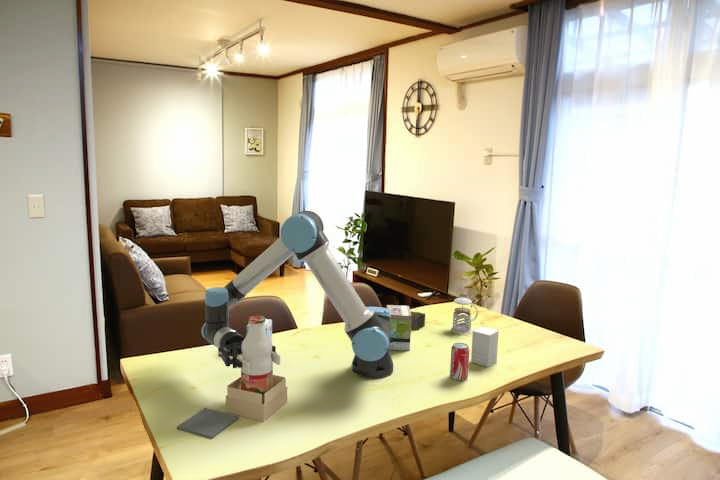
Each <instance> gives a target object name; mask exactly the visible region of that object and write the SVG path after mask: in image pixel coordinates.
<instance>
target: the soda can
mask: <svg viewBox="0 0 720 480" xmlns="http://www.w3.org/2000/svg"><path fill="white" fill-rule="evenodd" d="M450 351H451V352H450V364H449V365H450V366H449V376H450V377H451V378H452V379H453V378H454V379H453V380H455V379H456V381H466V380H467V379H468V378H469V366H470V365H469V364H470V362H469V361H470V351H471V350H470V347H469V345H468V343H464V342H455V343H453V344H452V345H451V350H450Z"/></svg>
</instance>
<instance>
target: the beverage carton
mask: <svg viewBox="0 0 720 480" xmlns="http://www.w3.org/2000/svg"><path fill="white" fill-rule="evenodd" d="M410 312H411V316H412V321H411V330H412V329H413V330H417V331H418V330H420V329H422V328H424V327H425V325H426V313H423V312H419V311H411V310H410Z"/></svg>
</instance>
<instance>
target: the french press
mask: <svg viewBox="0 0 720 480" xmlns="http://www.w3.org/2000/svg"><path fill="white" fill-rule="evenodd" d="M461 280H463V282H465V281H466V280H467V277H466V276H463V277H462V278H461ZM462 293H463V294H462V296H461V297H456V298H455V299H454V300H453V302H454V304H458V305H462V307H456V308H454V309H453V310H454V311H453V316H452V318H453V319H452V327H451V328H450V329H451V330H450V332H452V331H453V332H452V333H454V332H455V333H454V334H457V333H459V334H458V335H469V334H473V330H472V329H471V326H472V322H473V321H475V320H476V319H477V318H478V316H479V315H478V313H479V311H478V309H477V307H476V305H474V304H472V303H473V301H472V300H471V299H469V298H467V297H464V295H465V289H463V291H462ZM464 305H467V306H468V305H470V308H471V309H472V308H473V307H474V308H475V310H476V314H475V315H474V317H473V318H472V314H471V309H470V308H466V307H464Z"/></svg>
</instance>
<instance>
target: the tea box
mask: <svg viewBox="0 0 720 480" xmlns="http://www.w3.org/2000/svg"><path fill="white" fill-rule="evenodd" d="M385 308H386V309H389V310H390V314H391V318H390V344H389V351H410V349H411V336H412V334H411V333H412V328H411V321H412V316H411V312H410V311H411V309H410V308H411V307H410V306H409V305H398V304H395V305H394V304H386V307H385Z"/></svg>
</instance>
